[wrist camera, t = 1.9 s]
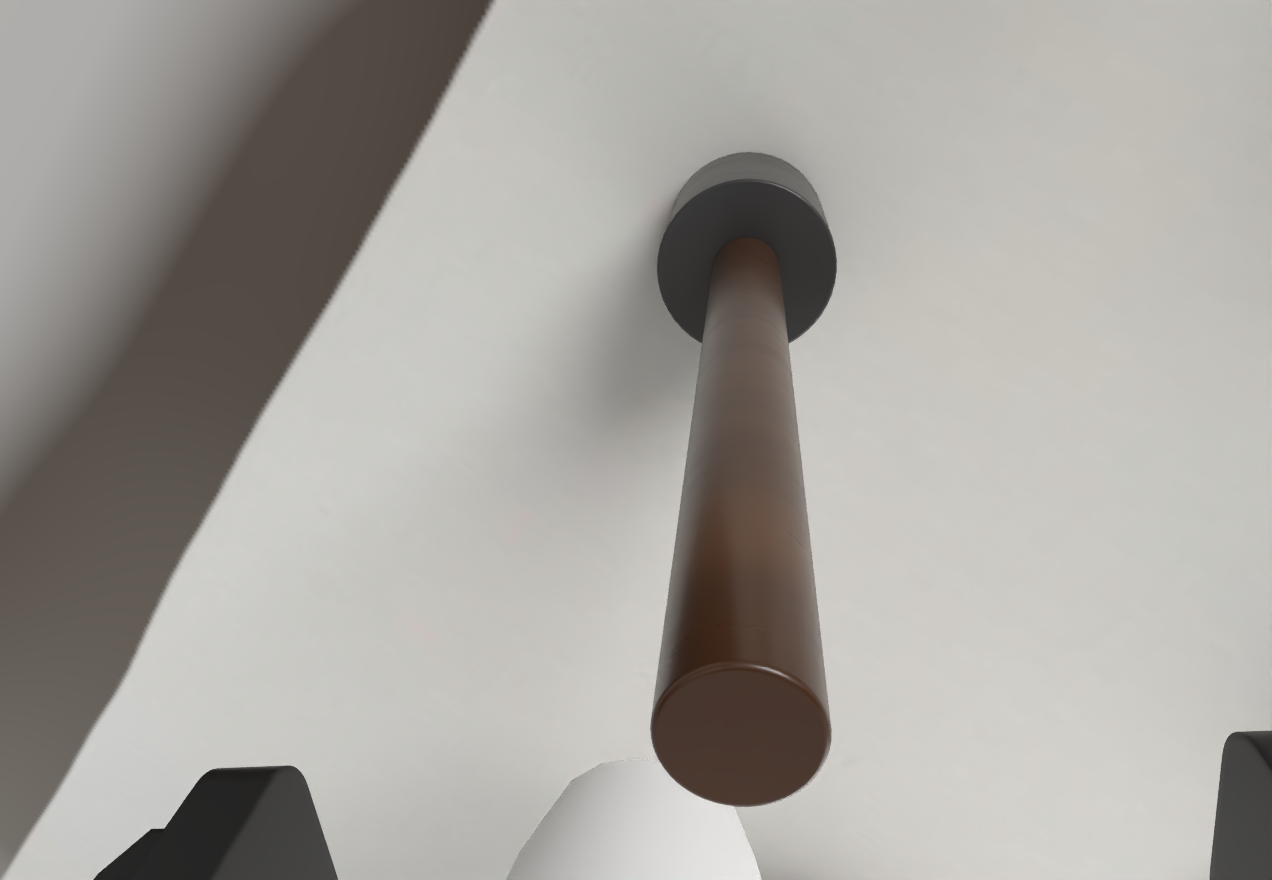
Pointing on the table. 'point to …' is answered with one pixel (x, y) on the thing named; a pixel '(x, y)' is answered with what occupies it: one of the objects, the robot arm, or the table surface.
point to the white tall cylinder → (635, 831)
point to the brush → (743, 490)
